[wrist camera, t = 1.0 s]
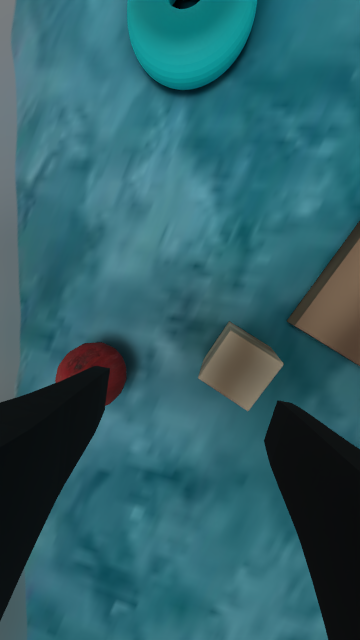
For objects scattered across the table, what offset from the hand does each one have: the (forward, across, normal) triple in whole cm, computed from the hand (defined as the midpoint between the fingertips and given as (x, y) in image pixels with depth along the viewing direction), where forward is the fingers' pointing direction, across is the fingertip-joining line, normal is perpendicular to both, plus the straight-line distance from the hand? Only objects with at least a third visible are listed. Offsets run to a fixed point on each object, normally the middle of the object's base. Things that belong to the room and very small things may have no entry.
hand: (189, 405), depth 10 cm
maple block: (+12, -5, +2) cm, 14 cm away
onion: (+14, +7, +6) cm, 17 cm away
